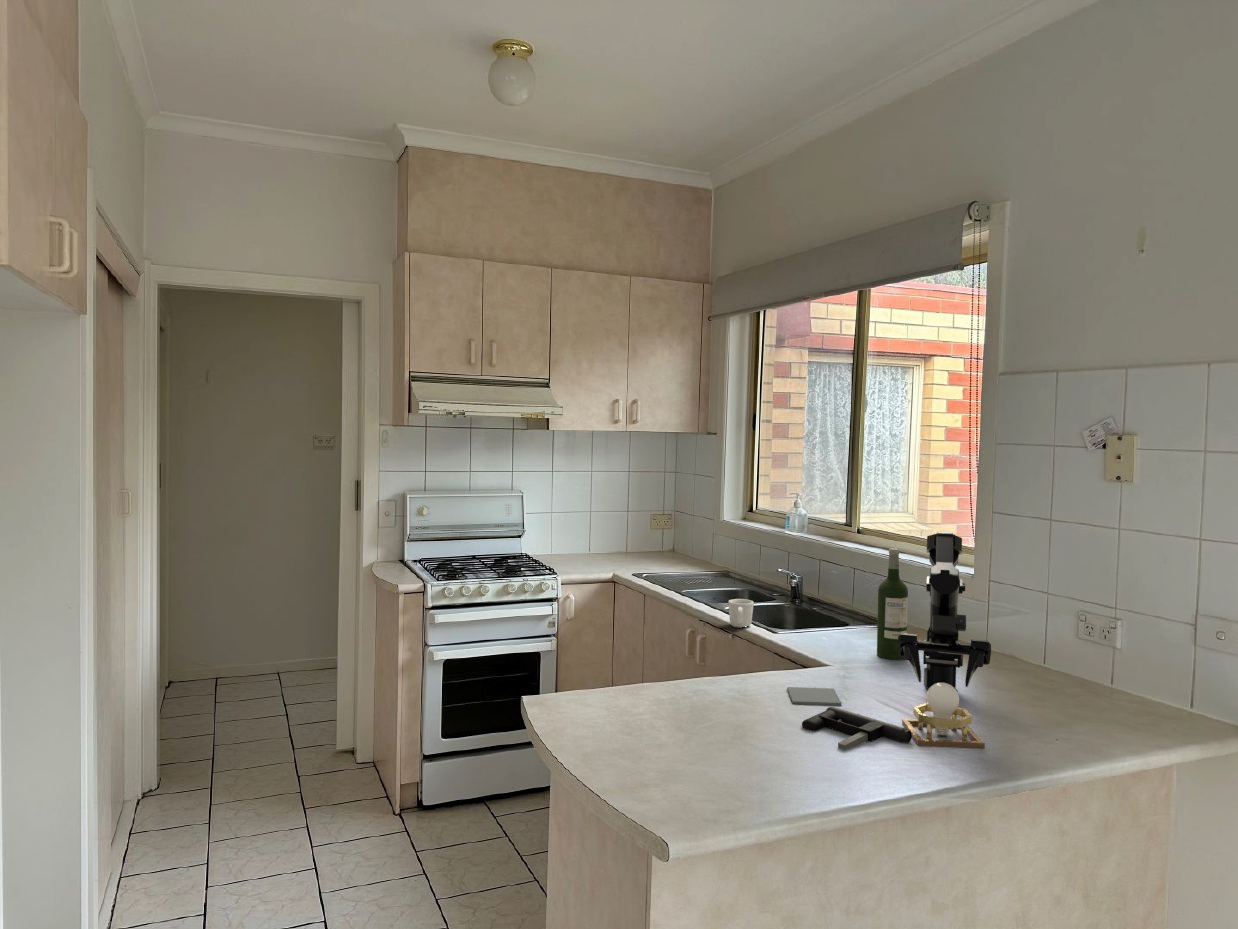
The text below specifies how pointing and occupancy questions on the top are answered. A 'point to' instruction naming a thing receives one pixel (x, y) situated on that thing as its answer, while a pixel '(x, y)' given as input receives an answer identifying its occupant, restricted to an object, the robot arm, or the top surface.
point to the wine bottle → (891, 610)
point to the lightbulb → (942, 703)
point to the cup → (740, 612)
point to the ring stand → (948, 723)
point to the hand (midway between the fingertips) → (943, 683)
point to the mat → (813, 696)
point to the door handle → (856, 727)
